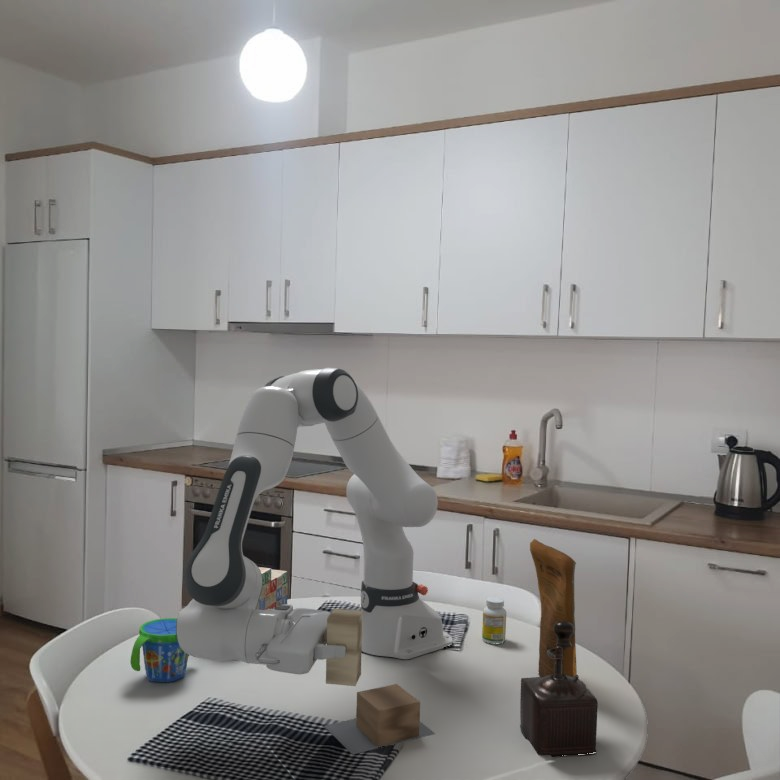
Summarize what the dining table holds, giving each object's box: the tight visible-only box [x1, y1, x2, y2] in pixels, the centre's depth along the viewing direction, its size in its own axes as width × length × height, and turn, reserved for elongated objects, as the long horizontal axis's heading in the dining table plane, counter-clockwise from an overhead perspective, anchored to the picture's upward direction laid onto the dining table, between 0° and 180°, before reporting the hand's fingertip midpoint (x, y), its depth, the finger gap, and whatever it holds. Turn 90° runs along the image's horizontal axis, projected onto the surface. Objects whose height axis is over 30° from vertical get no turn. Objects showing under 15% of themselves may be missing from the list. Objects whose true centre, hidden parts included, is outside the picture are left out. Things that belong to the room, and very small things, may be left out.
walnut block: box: [355, 683, 421, 746], centre depth 137 cm, size 8×8×6 cm
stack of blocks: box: [256, 566, 289, 610], centre depth 194 cm, size 21×6×12 cm, turn 161°
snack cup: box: [130, 617, 190, 683], centre depth 158 cm, size 16×10×10 cm
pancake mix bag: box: [529, 538, 578, 677], centre depth 160 cm, size 7×19×28 cm, turn 8°
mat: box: [323, 718, 436, 756], centre depth 137 cm, size 16×11×1 cm
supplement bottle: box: [481, 596, 507, 645], centre depth 183 cm, size 5×5×10 cm
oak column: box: [325, 608, 363, 687], centre depth 133 cm, size 5×5×11 cm
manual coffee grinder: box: [519, 621, 598, 758], centre depth 138 cm, size 16×11×18 cm
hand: (349, 643), depth 133 cm, fingers closed on oak column, 5 cm apart
